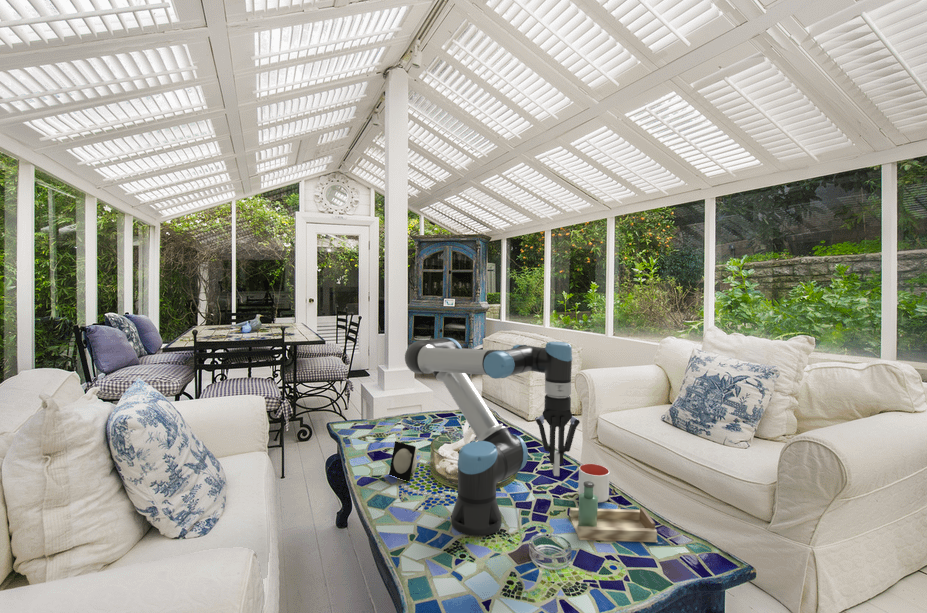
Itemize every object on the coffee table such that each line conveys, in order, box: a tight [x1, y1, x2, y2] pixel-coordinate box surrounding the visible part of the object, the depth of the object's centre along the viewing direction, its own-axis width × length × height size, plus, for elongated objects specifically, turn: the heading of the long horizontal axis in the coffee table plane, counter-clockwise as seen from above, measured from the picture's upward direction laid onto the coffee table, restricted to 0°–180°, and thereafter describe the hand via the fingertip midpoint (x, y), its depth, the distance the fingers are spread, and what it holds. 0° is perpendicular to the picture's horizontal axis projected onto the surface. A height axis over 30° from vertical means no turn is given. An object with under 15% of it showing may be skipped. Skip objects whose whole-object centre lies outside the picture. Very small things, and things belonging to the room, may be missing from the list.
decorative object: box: [388, 440, 418, 483], centre depth 168 cm, size 13×10×10 cm
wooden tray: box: [568, 507, 659, 543], centre depth 133 cm, size 22×14×5 cm, turn 89°
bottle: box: [578, 481, 599, 527], centre depth 133 cm, size 5×5×13 cm
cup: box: [577, 463, 611, 503], centre depth 153 cm, size 10×10×10 cm
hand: (555, 473), depth 132 cm, fingers closed
